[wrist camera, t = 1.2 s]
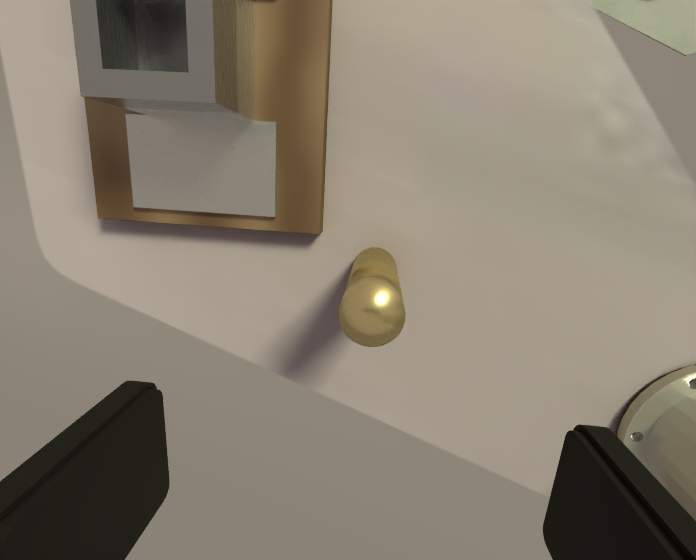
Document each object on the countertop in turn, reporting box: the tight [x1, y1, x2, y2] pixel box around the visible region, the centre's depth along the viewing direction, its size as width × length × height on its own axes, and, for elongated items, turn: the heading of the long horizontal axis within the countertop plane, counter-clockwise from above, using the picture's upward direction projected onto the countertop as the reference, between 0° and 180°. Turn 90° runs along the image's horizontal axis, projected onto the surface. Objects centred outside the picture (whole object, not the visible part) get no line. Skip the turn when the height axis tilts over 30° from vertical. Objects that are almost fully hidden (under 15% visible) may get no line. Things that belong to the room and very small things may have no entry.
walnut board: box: [85, 0, 332, 234], centre depth 24 cm, size 16×21×2 cm
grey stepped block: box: [70, 0, 278, 217], centre depth 21 cm, size 10×19×6 cm, turn 177°
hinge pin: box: [339, 248, 405, 347], centre depth 23 cm, size 3×3×10 cm
